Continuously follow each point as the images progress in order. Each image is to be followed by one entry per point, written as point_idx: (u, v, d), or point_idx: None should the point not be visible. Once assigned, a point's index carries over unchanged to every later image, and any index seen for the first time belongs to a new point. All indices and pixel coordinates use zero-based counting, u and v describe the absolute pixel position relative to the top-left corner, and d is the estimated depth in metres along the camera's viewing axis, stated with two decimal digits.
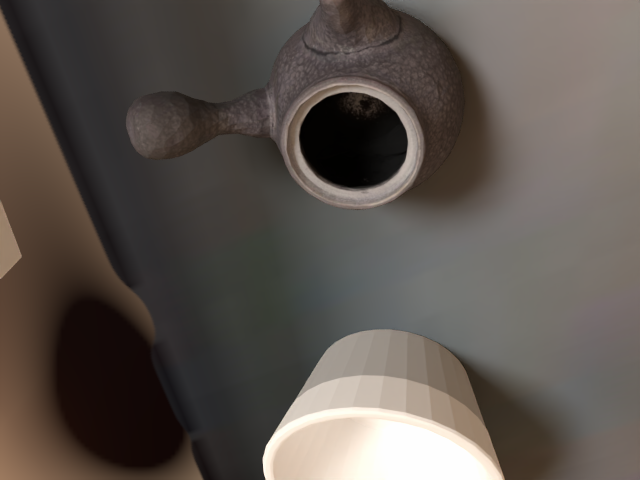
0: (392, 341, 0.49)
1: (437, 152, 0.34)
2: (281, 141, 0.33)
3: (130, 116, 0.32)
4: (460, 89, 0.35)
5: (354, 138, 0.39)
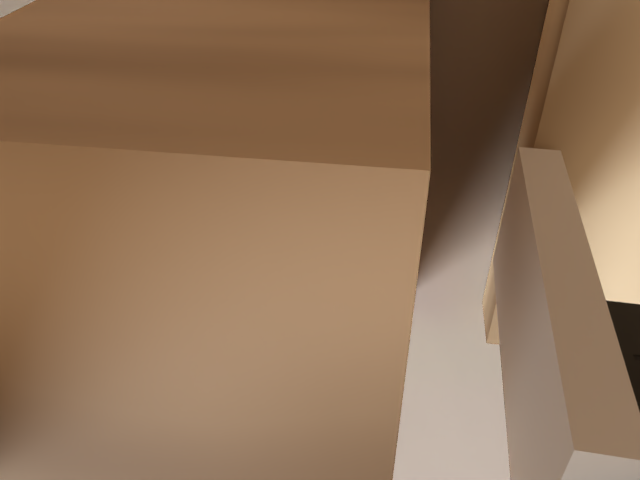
0: None
1: None
2: None
3: None
4: None
5: None
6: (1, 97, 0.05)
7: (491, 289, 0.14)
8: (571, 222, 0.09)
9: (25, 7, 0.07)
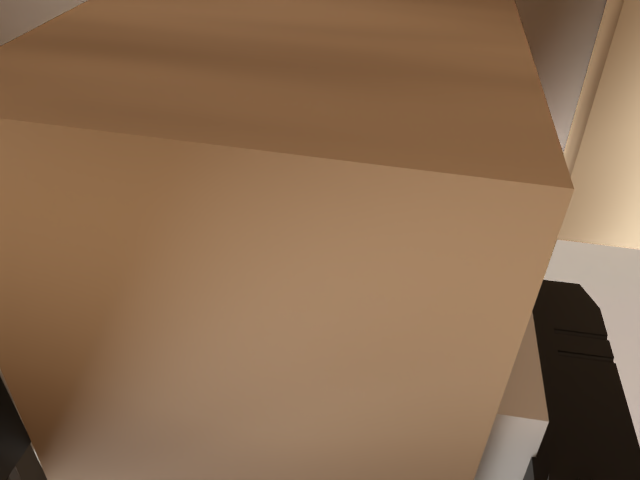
0: None
1: None
2: None
3: None
4: None
5: None
6: (103, 86, 0.05)
7: None
8: None
9: None
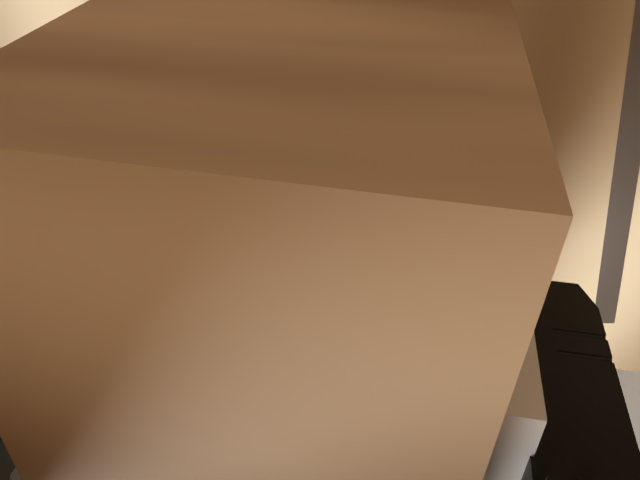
0: None
1: None
2: None
3: None
4: None
5: None
6: (77, 105, 0.05)
7: None
8: None
9: (85, 4, 0.07)
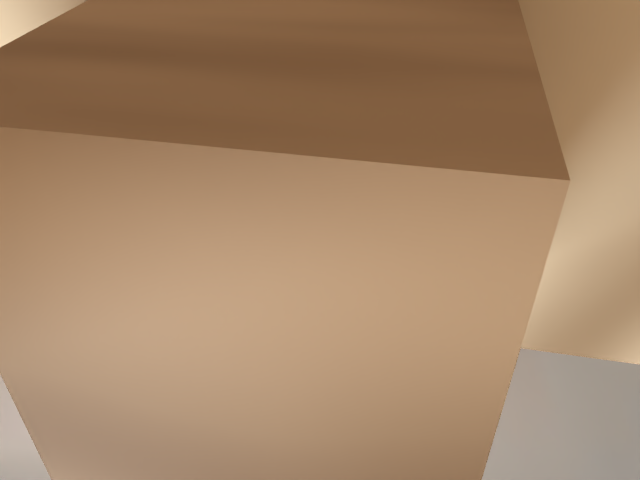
0: None
1: None
2: None
3: None
4: None
5: None
6: (91, 88, 0.05)
7: None
8: None
9: None
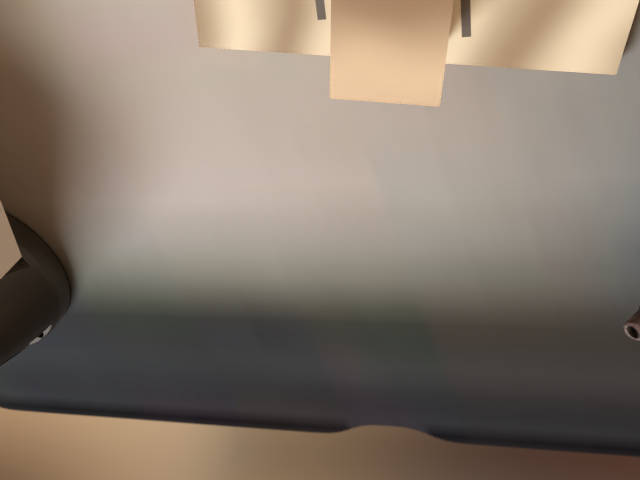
0: None
1: None
2: None
3: None
4: None
5: None
6: None
7: None
8: None
9: None
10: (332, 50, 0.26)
